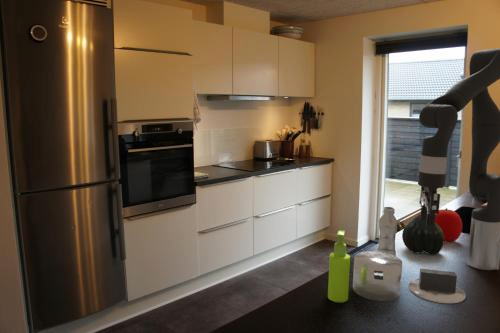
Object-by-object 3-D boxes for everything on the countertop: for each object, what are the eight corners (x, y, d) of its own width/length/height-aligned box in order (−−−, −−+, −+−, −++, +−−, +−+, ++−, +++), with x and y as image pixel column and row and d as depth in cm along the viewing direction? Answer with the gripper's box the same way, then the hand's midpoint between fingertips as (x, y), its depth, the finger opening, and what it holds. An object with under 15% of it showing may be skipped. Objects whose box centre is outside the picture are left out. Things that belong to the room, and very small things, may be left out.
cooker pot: (397, 279, 136) (399, 250, 134) (402, 309, 116) (405, 275, 115) (353, 274, 140) (355, 245, 138) (351, 302, 120) (353, 269, 118)
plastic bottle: (396, 265, 148) (400, 210, 145) (377, 263, 149) (380, 209, 146) (394, 258, 154) (397, 206, 151) (375, 257, 155) (378, 205, 152)
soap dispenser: (349, 293, 125) (352, 229, 122) (346, 303, 119) (350, 236, 116) (329, 290, 127) (332, 227, 124) (326, 300, 121) (329, 234, 118)
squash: (439, 249, 149) (444, 212, 156) (396, 243, 157) (403, 208, 164) (442, 264, 159) (447, 230, 166) (402, 258, 167) (408, 225, 174)
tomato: (424, 240, 175) (427, 207, 173) (432, 234, 184) (435, 203, 182) (456, 247, 167) (459, 213, 165) (463, 240, 176) (467, 208, 174)
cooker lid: (459, 284, 134) (461, 265, 133) (471, 307, 118) (473, 286, 117) (406, 278, 138) (407, 259, 137) (411, 300, 122) (413, 279, 121)
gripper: (452, 175, 118) (446, 230, 120) (439, 168, 132) (434, 218, 134) (424, 173, 119) (418, 227, 122) (414, 167, 133) (409, 216, 136)
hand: (426, 222), depth 128 cm, fingers open, 8 cm apart
